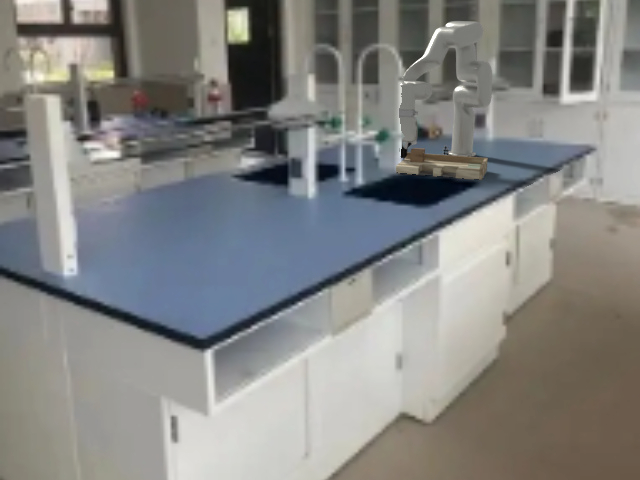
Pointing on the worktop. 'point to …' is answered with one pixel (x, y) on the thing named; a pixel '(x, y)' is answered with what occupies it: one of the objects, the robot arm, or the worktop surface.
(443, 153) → the molecular model
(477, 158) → the board
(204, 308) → the worktop surface
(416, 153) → the walnut block
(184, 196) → the worktop surface
